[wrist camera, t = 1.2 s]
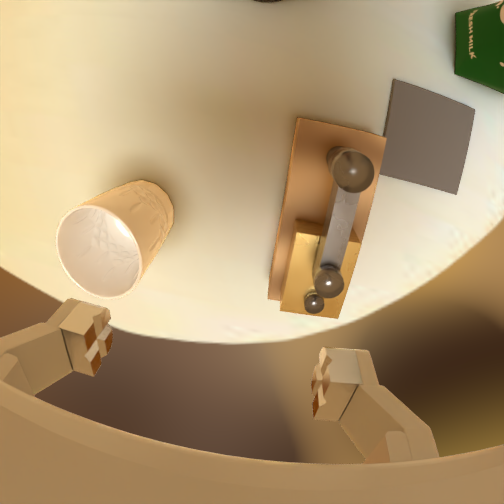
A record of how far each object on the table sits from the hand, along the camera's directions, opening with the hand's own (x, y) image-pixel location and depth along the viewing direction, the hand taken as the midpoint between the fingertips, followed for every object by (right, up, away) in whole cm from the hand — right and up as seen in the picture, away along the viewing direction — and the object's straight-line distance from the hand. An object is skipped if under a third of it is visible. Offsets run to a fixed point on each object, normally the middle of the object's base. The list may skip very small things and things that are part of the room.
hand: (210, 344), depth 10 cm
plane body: (+8, +7, +20) cm, 22 cm away
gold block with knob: (+7, +2, +18) cm, 19 cm away
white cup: (-10, +7, +22) cm, 25 cm away
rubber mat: (+18, +14, +16) cm, 27 cm away
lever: (+7, +6, +13) cm, 16 cm away
